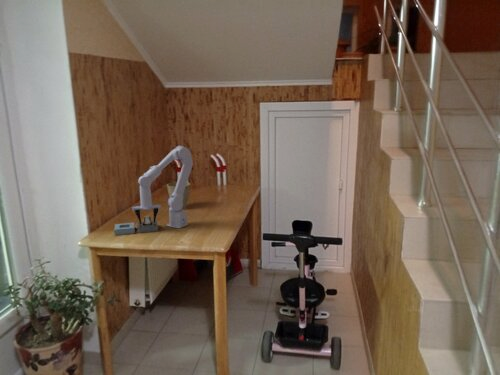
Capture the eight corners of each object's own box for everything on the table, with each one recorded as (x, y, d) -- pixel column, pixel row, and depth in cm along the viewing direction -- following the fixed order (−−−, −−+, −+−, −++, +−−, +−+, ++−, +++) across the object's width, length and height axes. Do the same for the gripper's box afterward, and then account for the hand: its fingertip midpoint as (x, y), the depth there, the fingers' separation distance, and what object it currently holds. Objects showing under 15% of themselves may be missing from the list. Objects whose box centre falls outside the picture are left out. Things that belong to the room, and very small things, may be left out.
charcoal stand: (156, 225, 219) (156, 220, 218) (158, 231, 210) (157, 225, 209) (138, 227, 216) (137, 222, 216) (138, 233, 207) (138, 227, 206)
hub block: (134, 227, 216) (134, 222, 215) (134, 233, 206) (134, 227, 206) (115, 229, 213) (115, 224, 212) (114, 235, 204) (114, 229, 203)
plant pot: (186, 211, 246) (185, 186, 242) (164, 210, 249) (163, 186, 245) (194, 205, 260) (193, 182, 257) (173, 204, 263) (172, 181, 259)
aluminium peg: (152, 228, 213) (152, 216, 212) (147, 230, 211) (146, 218, 209) (148, 227, 215) (147, 215, 214) (143, 229, 212) (142, 217, 211)
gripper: (131, 201, 204) (133, 226, 206) (160, 198, 208) (161, 223, 210) (131, 198, 210) (133, 222, 213) (159, 195, 214) (160, 219, 217)
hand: (147, 222), depth 212 cm, fingers open, 7 cm apart
